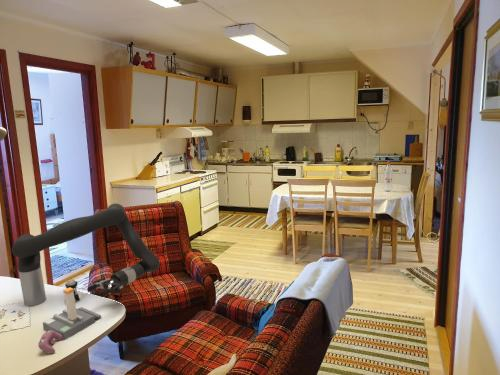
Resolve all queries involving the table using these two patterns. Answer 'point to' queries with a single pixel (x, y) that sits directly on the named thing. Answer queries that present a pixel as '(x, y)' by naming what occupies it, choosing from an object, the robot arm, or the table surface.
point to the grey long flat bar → (91, 313)
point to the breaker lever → (70, 304)
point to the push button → (73, 285)
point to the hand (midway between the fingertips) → (93, 292)
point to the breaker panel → (68, 323)
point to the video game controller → (49, 341)
